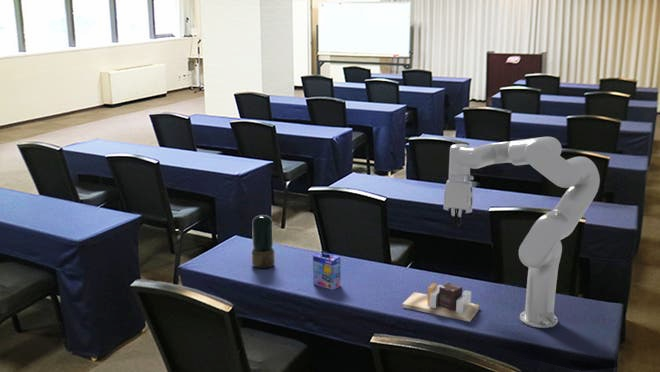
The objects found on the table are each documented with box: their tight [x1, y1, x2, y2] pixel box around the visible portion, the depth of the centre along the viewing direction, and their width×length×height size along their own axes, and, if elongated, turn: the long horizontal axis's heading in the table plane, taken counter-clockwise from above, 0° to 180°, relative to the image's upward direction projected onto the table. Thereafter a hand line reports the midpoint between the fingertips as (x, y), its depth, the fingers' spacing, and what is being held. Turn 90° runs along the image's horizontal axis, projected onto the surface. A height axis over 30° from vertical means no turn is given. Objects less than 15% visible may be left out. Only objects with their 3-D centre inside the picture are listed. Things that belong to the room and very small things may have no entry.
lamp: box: [251, 214, 276, 269], centre depth 281 cm, size 10×10×22 cm
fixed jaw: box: [456, 290, 472, 315], centre depth 239 cm, size 2×10×5 cm, turn 153°
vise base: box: [401, 291, 480, 322], centre depth 243 cm, size 25×12×2 cm, turn 63°
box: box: [439, 282, 463, 310], centre depth 241 cm, size 6×6×7 cm
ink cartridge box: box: [312, 250, 342, 291], centre depth 262 cm, size 10×6×14 cm, turn 56°
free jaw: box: [427, 282, 444, 308], centre depth 243 cm, size 4×10×6 cm, turn 153°
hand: (456, 226), depth 250 cm, fingers closed
